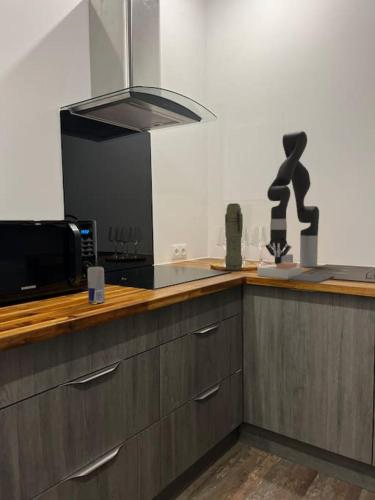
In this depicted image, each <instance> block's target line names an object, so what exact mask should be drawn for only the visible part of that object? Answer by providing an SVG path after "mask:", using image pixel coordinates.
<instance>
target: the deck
mask: <svg viewBox="0 0 375 500" xmlns="http://www.w3.org/2000/svg"><path fill="white" fill-rule="evenodd" d="M301 274H303V267H302V266H300V265H299V266H298V265H297V267H295V268H291V269H279V268H276V264H275V263H274V264H267V265H263V266H258V267H257V274H256V275H257V276H258V277H264V278H265V277H266V278H268V277H269V278H277V279H286V280H288V278H291V277H294V276H297V275H301Z"/></svg>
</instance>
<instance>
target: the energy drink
mask: <svg viewBox="0 0 375 500" xmlns="http://www.w3.org/2000/svg"><path fill="white" fill-rule="evenodd" d="M87 291H88V292H87V293H88V294H87V295H88V303H89V304H90V303H102V302H104V303H105V302H106V296H105V295H106V293H105V291H106V289H105V270H104V267H103V266H90V267H88V268H87ZM102 304H103V303H102Z"/></svg>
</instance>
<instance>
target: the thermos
mask: <svg viewBox="0 0 375 500" xmlns="http://www.w3.org/2000/svg"><path fill="white" fill-rule="evenodd" d="M243 219H244V217H243V212H242V208H241V205H240V204H239V203H237V202H236V203H228V204H227V207H226V212H225V215H224V222H225V223H224V225H225V226H224V227H225V229H224V231H225V234H224V235H225V238H226V241H225V243H226V244H225V245H226V255H225V256H224V259H225V262H224V263H225V270H226V271H232V272H233V271H242V270H243V256H242V238H243V226H244V225H243V222H244V221H243ZM241 269H242V270H241Z"/></svg>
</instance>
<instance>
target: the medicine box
mask: <svg viewBox="0 0 375 500" xmlns="http://www.w3.org/2000/svg"><path fill="white" fill-rule="evenodd" d="M281 262H282V263H283V262H291V263H294V255H293V253H287V254H286V255H285V256H282V261H281Z"/></svg>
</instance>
